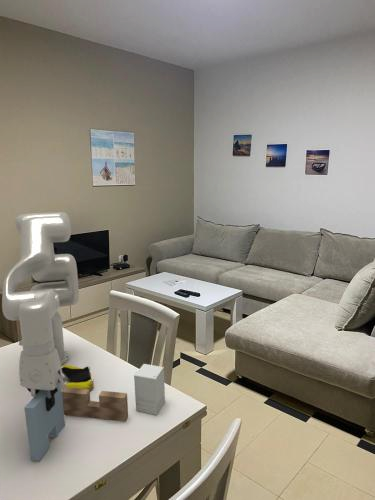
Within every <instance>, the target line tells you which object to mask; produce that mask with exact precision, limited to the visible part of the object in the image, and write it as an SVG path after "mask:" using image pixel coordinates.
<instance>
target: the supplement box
mask: <svg viewBox="0 0 375 500" xmlns="http://www.w3.org/2000/svg"><path fill="white" fill-rule="evenodd" d="M133 378H134V380H133V381H134V382H133V383H134V399H135V410H136V412H141V413H145V414H151V415H155V416H157V415H158V414H159V412H160V411H161V409H162V407H163V406H164V404H165V402H166V396H165V393H166V392H165V388H166V387H165V367H164V366H159V365H154V364H147V363H143V364H142V365H141V367H139V369H138V370H137V371H136V373H135V374H133Z"/></svg>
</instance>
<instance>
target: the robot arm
mask: <svg viewBox="0 0 375 500" xmlns="http://www.w3.org/2000/svg"><path fill="white" fill-rule="evenodd" d="M70 219H71V218H70V216H69V215H68V213H66V212H65V211H59V212H58V211H56V212H55V211H54V212H51V211H50V212H32V213H22V214H19V215H17V216H16V217H15V222H14V223H15V225H14V226H15V228H16V230H17V232H18V233H19V235H20V253H19V255H20V258H19V261H18V262H17V263H16V264H14V266H13V267H11V269H10V270H9V272H8V273H7V274H6V276H5V277H4V281H3V283H2V295H1V296H2V299H1V300H2V301H1V308H2V313H3V316H4V318H6V319H7V320H9V321H19V324H20V334H21V340H19V342H18V345H19V346H21V347H22V351H21V352H20V354H19V355H20V356H19V367H18V370H19V371H18V372H19V373H18V374H19V385H20V387H22V388H25V389H26V390H27V391H28V392H29V393H30V396H31V397H32V398H33V397H34V396H35V395H36V394H37V393H38V392H39V391H40V390H46V394H47V397H46V399H45V400H46V409H47V411H50V410H51V408H52V407H53V406H54V405H55V396H54V394H55V393H56V392H58V391H61V390H63V389H64V388H65V387H66V385H65V384H66V383H65V381H64V379H63V373H62V369H61V367H62V366H64V365H66V363H67V362H68V361H69V359H70V354H69V352H67V351H66V350H65V342H64V332H63V331H64V330H63V320H62V314H60V312H59V311H58V310H59V308H62V307H71V306H74V305H76V304H78V303H79V300H80V288H79V278H78V267H77V262H76V259H75V257H74V256H73V255H72V254H70V253H59V254H55V249H54V243H66V242H68V241H69V240H70V239H71V233H72V228H71V220H70ZM30 277H32V278H33V279H34V281H36V282H42V283H38V284H35V285H33V286H32V287H31V288H30V290H26V291H17V292H15V291H16V288H17V287H18V286H19V284H20V283H22V282H23V281H24V280H26V279H27V278H30ZM43 282H44V283H43Z"/></svg>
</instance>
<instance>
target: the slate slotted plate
mask: <svg viewBox="0 0 375 500" xmlns="http://www.w3.org/2000/svg"><path fill="white" fill-rule="evenodd" d="M54 396H55V405H54V406H53V407H52V408H51V410H50V411H47V409H46V400H45V399H46V397H47V394H46V390H40V391H39V392H38V393H37V394H36V395H35V396H34V397H32V398H31V399H30V401H29V402H28V403H27V404H26V405H25V406H24V414H25V415H24V416H25V422H26V430H27V439H28V447H29V457H30V461H33V462H41V461H42V459H43V458H44V457H45V455H46V453H47V452H48V451H49V449H50V440H49V437H52V438H58V436H59V435H60V433H61V432H62V430H63V429H64V427H65V426H66V421H65V415H64V410H63V399H62V390H61V391H58V392H56V393H55V394H54Z"/></svg>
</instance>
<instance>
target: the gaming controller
mask: <svg viewBox="0 0 375 500" xmlns="http://www.w3.org/2000/svg"><path fill="white" fill-rule="evenodd" d="M61 369H62V375H63V376H65V378H67V380H68V381H69V382H67V383H65V385H66V387H69V388H79V389H90V391H92V389H93V388H94V386H95V385H94V378H92V373H91V366H85V367H79V366H74V365H71V364H63V365H61Z"/></svg>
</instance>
